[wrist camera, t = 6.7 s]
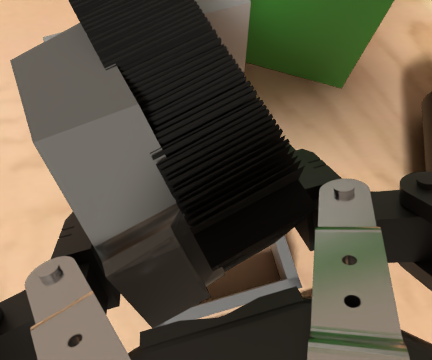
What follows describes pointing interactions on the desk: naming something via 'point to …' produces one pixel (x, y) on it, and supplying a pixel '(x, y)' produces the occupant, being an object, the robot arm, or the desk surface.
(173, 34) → the cpu cooler
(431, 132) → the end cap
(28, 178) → the desk surface
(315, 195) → the robot arm
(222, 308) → the open rectangular frame
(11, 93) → the desk surface
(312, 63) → the hardback book
